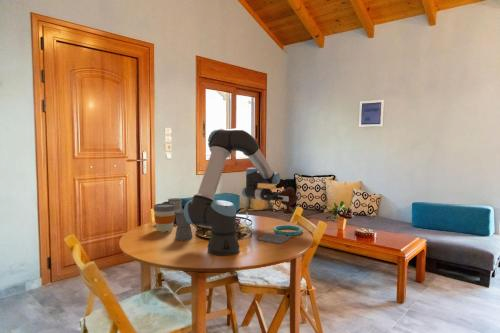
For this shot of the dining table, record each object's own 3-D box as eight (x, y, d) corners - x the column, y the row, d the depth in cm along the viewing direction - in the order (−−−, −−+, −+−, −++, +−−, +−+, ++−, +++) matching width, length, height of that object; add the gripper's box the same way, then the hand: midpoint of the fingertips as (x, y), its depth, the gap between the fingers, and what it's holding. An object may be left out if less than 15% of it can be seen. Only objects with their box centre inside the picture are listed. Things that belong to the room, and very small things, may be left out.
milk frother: (177, 219, 225) (177, 197, 224) (190, 223, 214) (190, 200, 213) (158, 222, 215) (158, 199, 214) (171, 227, 204) (171, 203, 203)
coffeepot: (181, 242, 171) (181, 208, 170) (168, 239, 176) (168, 206, 175) (201, 236, 184) (201, 203, 183) (188, 233, 189) (188, 202, 188)
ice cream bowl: (296, 211, 198) (297, 186, 198) (297, 214, 187) (298, 188, 187) (279, 210, 200) (279, 185, 199) (278, 214, 188) (279, 187, 188)
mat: (281, 244, 170) (281, 242, 170) (257, 240, 177) (257, 238, 177) (292, 237, 182) (292, 236, 182) (269, 234, 189) (269, 232, 189)
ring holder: (295, 237, 183) (295, 233, 183) (269, 232, 191) (269, 229, 191) (305, 230, 197) (305, 227, 197) (281, 227, 205) (281, 223, 205)
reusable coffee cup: (150, 232, 190) (149, 206, 189) (158, 227, 203) (158, 202, 202) (171, 233, 189) (171, 207, 188) (178, 228, 201) (178, 203, 200)
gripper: (275, 198, 214) (304, 202, 200) (251, 202, 196) (282, 207, 182) (275, 186, 213) (304, 189, 199) (251, 189, 195) (282, 193, 181)
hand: (294, 198), depth 190 cm, fingers closed on ice cream bowl, 11 cm apart
